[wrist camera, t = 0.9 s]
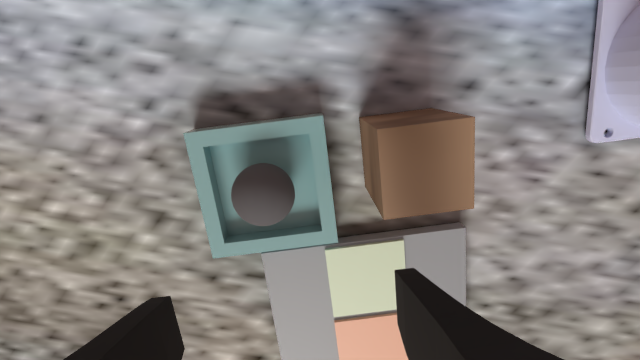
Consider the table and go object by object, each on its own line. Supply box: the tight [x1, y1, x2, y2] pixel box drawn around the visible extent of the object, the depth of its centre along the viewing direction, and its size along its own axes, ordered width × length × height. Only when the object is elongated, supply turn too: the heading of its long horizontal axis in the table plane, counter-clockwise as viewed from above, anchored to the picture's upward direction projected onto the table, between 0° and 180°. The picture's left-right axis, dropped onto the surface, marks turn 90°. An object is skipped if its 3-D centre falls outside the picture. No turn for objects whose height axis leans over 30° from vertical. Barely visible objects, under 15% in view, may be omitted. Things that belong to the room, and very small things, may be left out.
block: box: [359, 108, 475, 220], centre depth 17 cm, size 4×4×5 cm
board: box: [261, 222, 466, 360], centre depth 21 cm, size 12×10×1 cm
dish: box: [183, 113, 338, 258], centre depth 18 cm, size 7×7×2 cm
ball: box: [231, 163, 295, 226], centre depth 17 cm, size 3×3×3 cm
